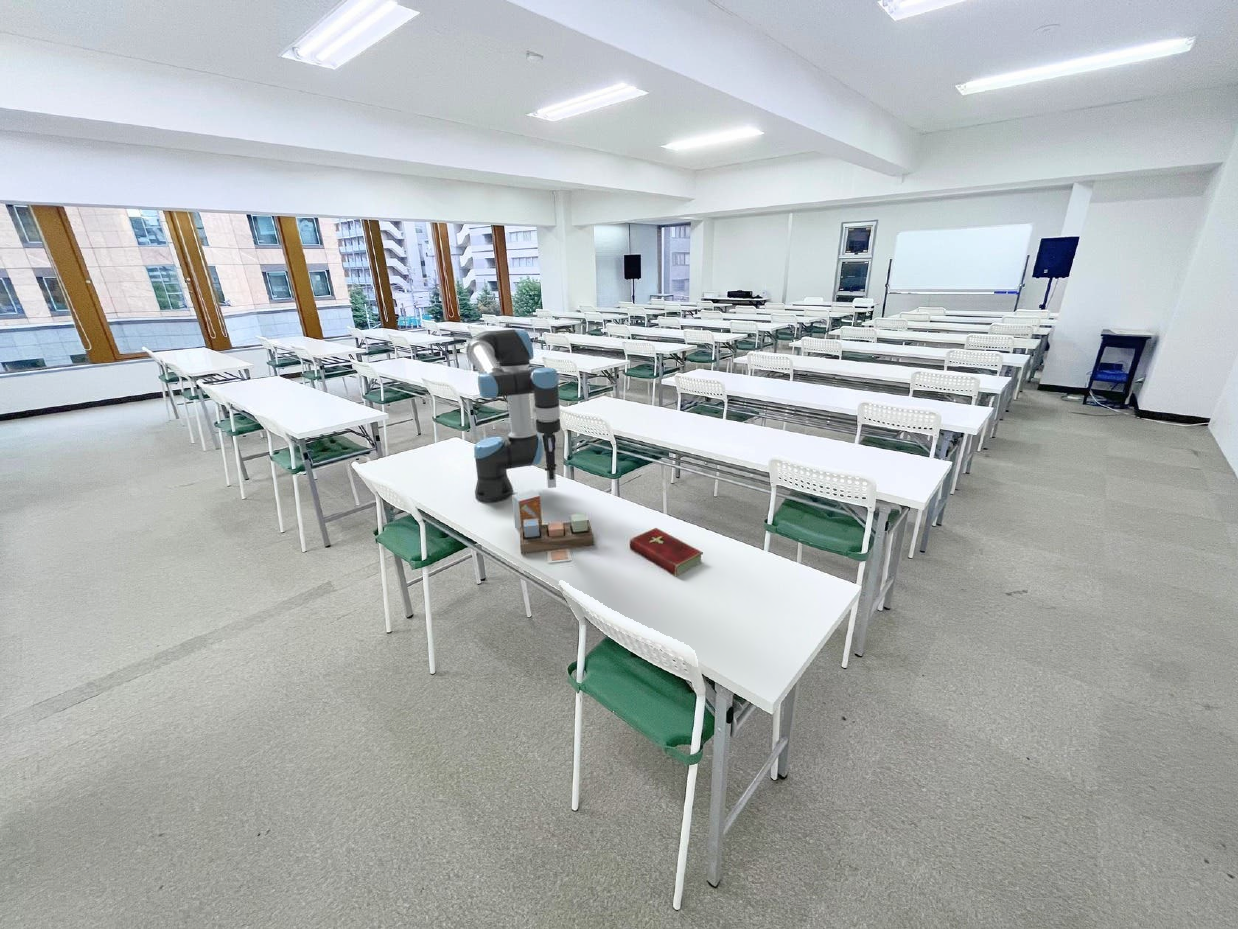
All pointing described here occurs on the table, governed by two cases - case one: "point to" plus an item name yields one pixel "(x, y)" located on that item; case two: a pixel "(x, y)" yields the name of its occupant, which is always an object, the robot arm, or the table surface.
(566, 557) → the tile
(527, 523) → the light blue cube
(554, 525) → the cap terracotta
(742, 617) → the table surface
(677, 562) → the hardcover book
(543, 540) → the wooden tray
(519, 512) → the small box
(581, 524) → the cap sage
